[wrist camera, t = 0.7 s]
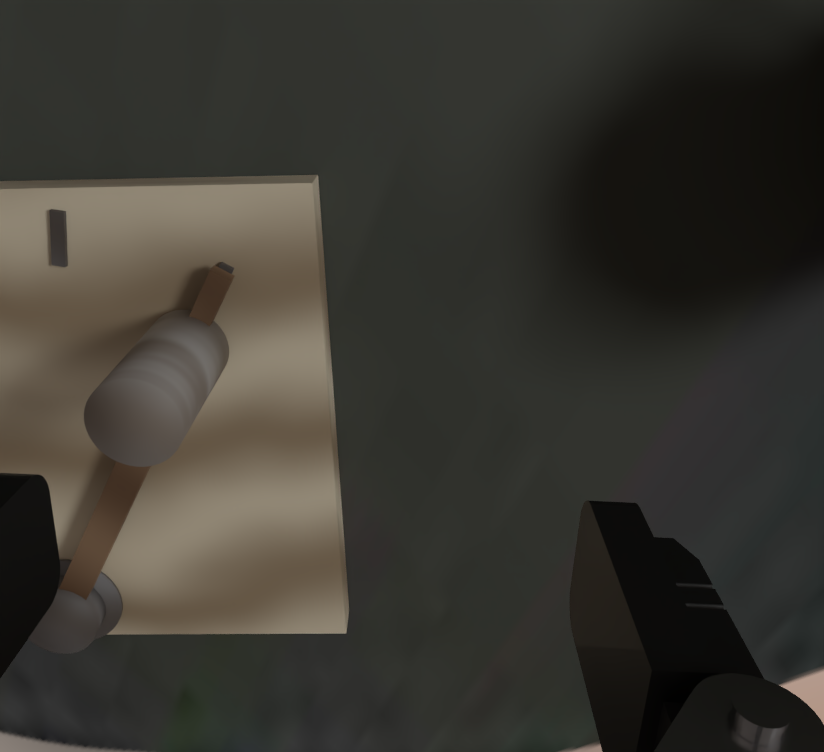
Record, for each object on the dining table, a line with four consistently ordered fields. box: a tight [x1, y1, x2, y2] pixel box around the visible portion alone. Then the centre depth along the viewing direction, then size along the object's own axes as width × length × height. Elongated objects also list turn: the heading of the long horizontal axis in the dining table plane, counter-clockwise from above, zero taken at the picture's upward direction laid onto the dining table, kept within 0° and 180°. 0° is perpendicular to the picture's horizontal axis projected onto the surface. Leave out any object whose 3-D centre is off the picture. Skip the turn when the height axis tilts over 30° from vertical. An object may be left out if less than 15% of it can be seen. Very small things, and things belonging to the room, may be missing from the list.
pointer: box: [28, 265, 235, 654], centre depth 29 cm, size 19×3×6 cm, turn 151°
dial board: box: [0, 175, 349, 640], centre depth 32 cm, size 20×24×2 cm
